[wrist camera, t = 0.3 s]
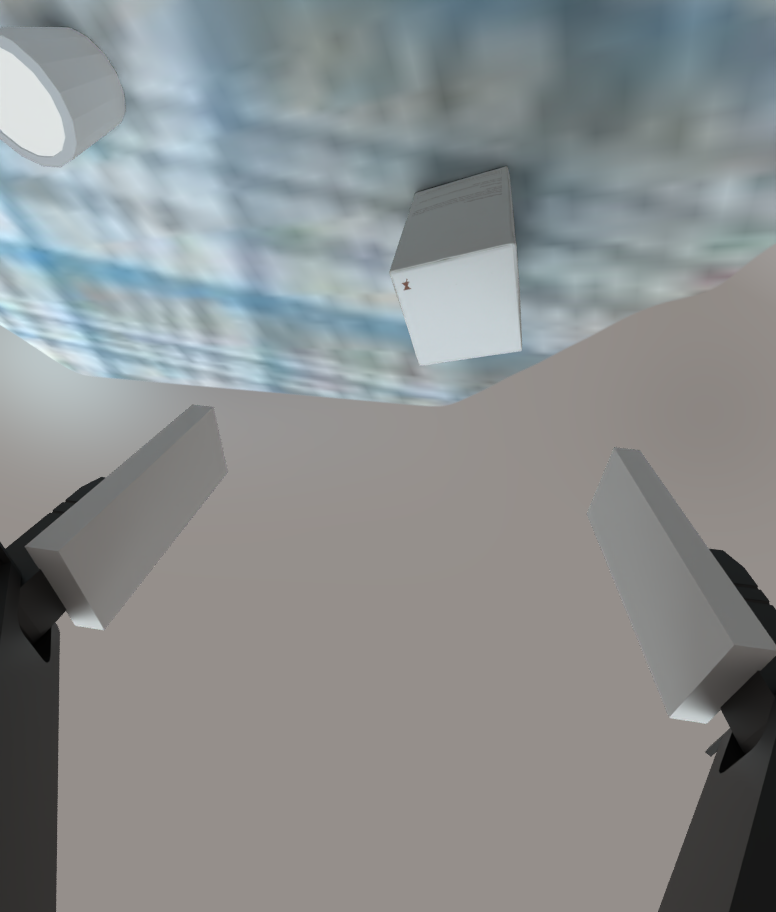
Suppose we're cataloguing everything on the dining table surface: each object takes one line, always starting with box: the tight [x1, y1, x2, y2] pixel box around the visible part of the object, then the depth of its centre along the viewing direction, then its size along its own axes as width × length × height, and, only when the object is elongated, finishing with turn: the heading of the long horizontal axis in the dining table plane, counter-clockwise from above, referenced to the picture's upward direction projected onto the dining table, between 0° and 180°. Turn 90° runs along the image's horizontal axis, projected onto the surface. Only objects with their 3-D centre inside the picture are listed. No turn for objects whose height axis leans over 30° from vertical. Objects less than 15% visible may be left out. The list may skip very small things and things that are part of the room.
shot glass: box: [0, 27, 126, 167], centre depth 28 cm, size 7×7×7 cm
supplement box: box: [389, 166, 522, 366], centre depth 29 cm, size 7×7×13 cm
